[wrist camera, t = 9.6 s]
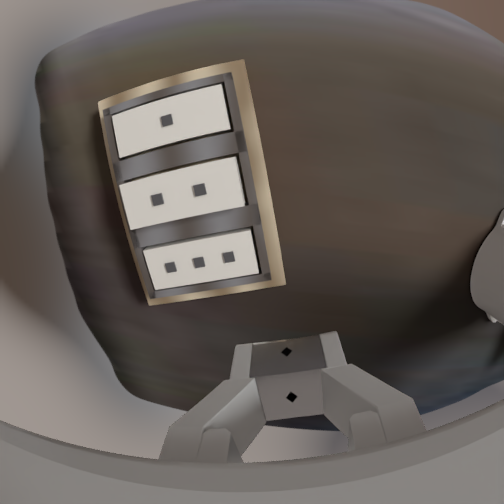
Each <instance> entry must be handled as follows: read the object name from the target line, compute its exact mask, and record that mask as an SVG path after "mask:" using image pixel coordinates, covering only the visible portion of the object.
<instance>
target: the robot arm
mask: <svg viewBox="0 0 504 504" xmlns="http://www.w3.org/2000/svg"><path fill="white" fill-rule="evenodd" d="M470 289H471V295H472V299H473V301H474V303H475V304H476V305H477V306H478V307H479V308H480V309H482V310H484V311H485V312H486V314H487V316H488V318H489V320H491V321H492V322H496V321H499V322H500V323H502V324H503V325H504V209H503V211H502V212H501V214H500V216H499V219H498V221H497V224H496V226H495V228H494V229H493V230H492V231H491V233H490V234H489V235H488V236H487V238H486V239H485V241H484V242H483V244H482V245H481V247H480V249H479V251H478V254H477V256H476V259H475V261H474V265H473V268H472V273H471V281H470ZM320 414H324V415H325V416H326V417H327V418H328V419H329V420H330V421H331V422H332V423H333V424H334V425H335V426H336V427H337V428H338V429H339V430H340V431H341V432H342V433H343V434H344V435H345V436H346V437H347V438H348V450H347V452H343V453H337V454H331V455H325V456H318V457H311V458H304V459H294V460H284V461H271V462H253V463H244V462H243V460H242V458H241V456H242V454H243V453H244V452H245V450H246V449H247V448H248V446H249V445H250V444H251V442H252V441H253V440H254V438H255V437H256V436H257V434H258V433H259V432H260V430H261V429H262V428H263V426H264V425H265V423H266V421H270V420H279V419H286V418H293V417H303V416H311V415H320ZM0 504H504V399H503V400H501V401H499V402H497V403H495V404H493V405H491V406H488V407H486V408H484V409H482V410H480V411H477V412H475V413H473V414H470V415H468V416H466V417H463V418H461V419H458V420H456V421H453V422H451V423H448V424H445V425H443V426H440V427H437V428H434V429H431V430H428V431H427V430H426V428H425V426H424V424H423V421H422V419H421V416H420V414H419V412H418V410H417V407H416V405H415V403H414V401H413V399H412V398H410V397H409V396H407V395H405V394H403V393H402V392H400V391H398V390H396V389H395V388H393V387H391V386H389V385H388V384H386V383H384V382H382V381H381V380H379V379H377V378H376V377H374V376H372V375H370V374H369V373H367V372H365V371H364V370H362V369H360V368H358V367H357V366H355V365H353V364H347V363H346V359H345V356H344V353H343V350H342V347H341V343H340V340H339V337H338V334H337V332H336V331H332V332H327V333H322V334H319V335H314V336H308V337H302V338H295V339H289V340H278V341H269V342H259V343H249V344H240V345H237V346H236V347H235V351H234V356H233V362H232V367H231V373H230V378H229V380H224V381H223V382H222V383H221V384H219V385H218V386H217V387H216V388H215V389H214V390H213V391H211V392H210V393H209V394H208V395H207V396H206V397H205V398H203V399H202V400H201V401H200V402H199V403H197V404H196V405H195V406H194V407H193V408H192V409H190V410H189V411H188V412H187V413H186V414H184V415H183V416H182V417H181V418H180V419H178V420H177V421H176V422H175V423H173V424H172V425H171V426H170V427H169V430H168V432H167V435H166V438H165V441H164V444H163V447H162V450H161V453H160V456H159V459H158V460H157V459H150V458H142V457H134V456H128V455H122V454H116V453H110V452H105V451H100V450H95V449H91V448H86V447H82V446H78V445H74V444H70V443H66V442H63V441H59V440H55V439H52V438H49V437H45V436H42V435H39V434H36V433H33V432H30V431H27V430H24V429H21V428H19V427H16V426H13V425H11V424H8V423H6V422H3V421H0Z"/></svg>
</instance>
